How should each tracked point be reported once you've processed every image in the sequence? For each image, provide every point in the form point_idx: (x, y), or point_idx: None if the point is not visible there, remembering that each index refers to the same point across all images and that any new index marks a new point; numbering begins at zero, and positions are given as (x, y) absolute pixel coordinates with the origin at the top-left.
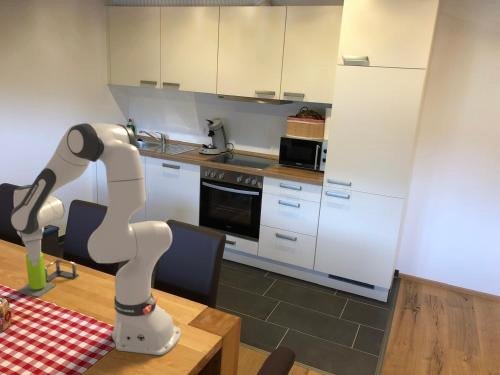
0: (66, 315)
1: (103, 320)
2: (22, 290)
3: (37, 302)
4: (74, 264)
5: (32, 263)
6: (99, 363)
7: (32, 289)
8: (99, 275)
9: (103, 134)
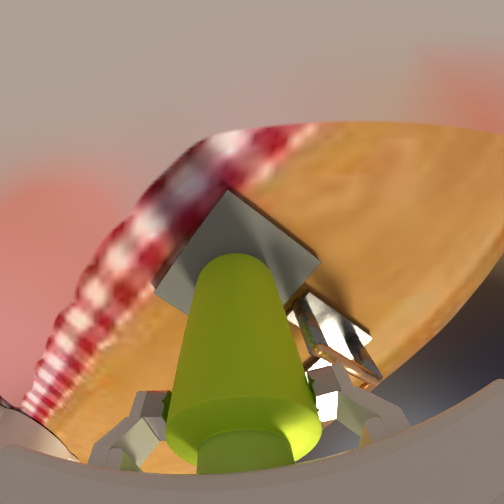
0: (55, 363)
1: (54, 416)
2: (224, 217)
3: (120, 287)
4: None
5: (132, 409)
6: None
7: None
8: None
9: None
